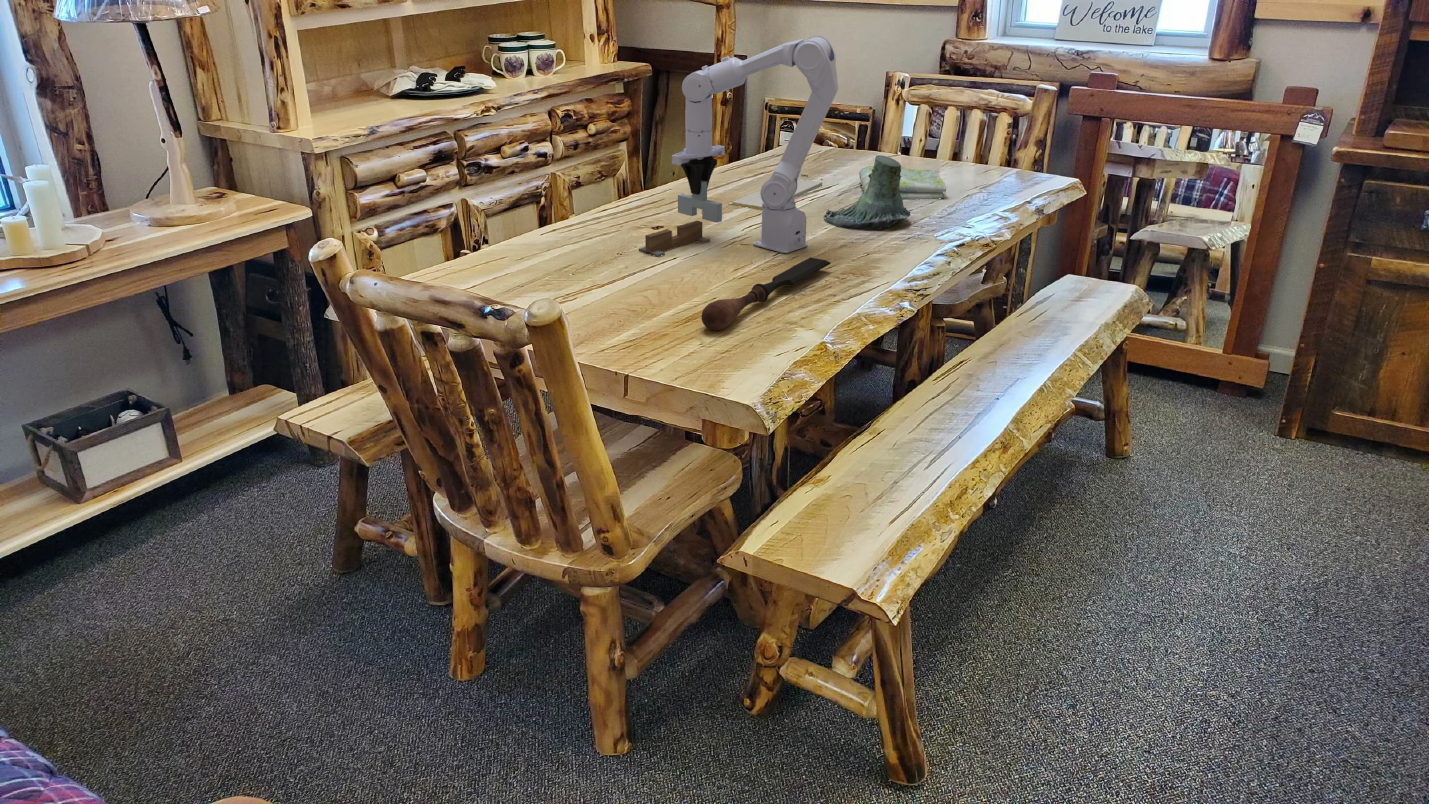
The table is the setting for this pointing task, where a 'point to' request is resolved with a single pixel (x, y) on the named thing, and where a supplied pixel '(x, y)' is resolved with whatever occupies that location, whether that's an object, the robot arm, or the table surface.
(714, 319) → the chisel
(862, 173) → the towel
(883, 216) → the tree stump
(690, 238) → the walnut slotted plate
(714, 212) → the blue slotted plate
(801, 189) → the baseboard molding
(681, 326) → the table surface
